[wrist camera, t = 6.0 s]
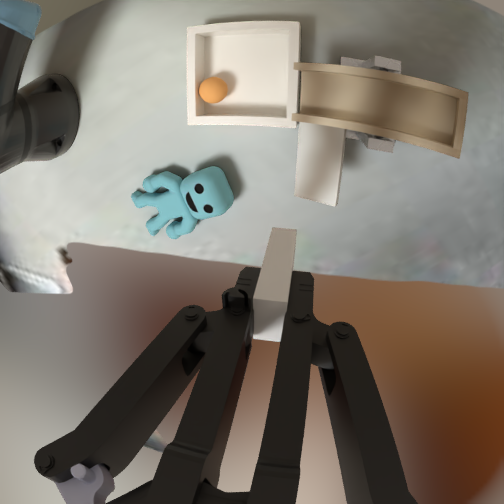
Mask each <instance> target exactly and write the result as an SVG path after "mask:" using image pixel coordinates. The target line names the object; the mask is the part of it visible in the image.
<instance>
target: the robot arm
mask: <svg viewBox="0 0 504 504" xmlns="http://www.w3.org/2000/svg"><path fill="white" fill-rule="evenodd" d="M41 13H42V12H41V7H40V6H39V5H38V4H37V3H34V2H29V1H25V0H0V174H1V173H2V172H4V171H6V170H8V169H10V168H12V167H14V166H15V165H17V164H20V163H22V162H25V161H47V160H51V159H54V158H56V157H58V156H61V155H62V154H64V153H65V152H66V151H67V150H68V149H69V148H70V146H71V145H72V143H73V141H74V138H75V136H76V132H77V128H78V121H79V107H78V101H77V96H76V93H75V91H74V88H73V86H72V85H71V83H70V82H69V81H68V80H67V79H66V78H65V77H64V76H62V75H59V74H51V75H45V76H41V77H39V78H37V79H35V80H33V81H32V82H30V83H28V84H27V85H25V86H24V87H22V88H20V89H19V90H18V86H19V82H20V78H21V75H22V71H23V68H24V64H25V61H26V58H27V55H28V52H29V49H30V46H31V44H32V41H33V40H34V38H35V35H34V34H35V31H36V28H37V25H38V23H39V20H40V17H41ZM296 232H297V230H296V229H285V228H272V231H271V235H270V239H269V242H268V246H267V250H266V253H265V257H264V260H263V264H262V268H254V267H245V268H244V269H243V270H242V271H241V272H240V274H239V277H238V280H237V282H236V285H235V287H234V288H230V289H227V290H226V291H224V292H223V294H222V303H223V309H221V310H218V311H212V312H205V310H204V309H203V308H202V307H200V306H197V305H189V306H186V307H184V308H182V309H181V310H180V311H179V312H178V313H177V314H176V316H175V317H174V318H173V319H172V320H171V321H170V322H169V323H168V324H167V326H166V327H165V328H164V329H163V330H162V331H161V332H160V333H159V335H158V336H157V337H156V338H155V339H154V340H153V341H152V342H151V343H150V344H149V346H148V347H147V348H146V349H145V350H144V351H143V352H142V353H141V355H140V356H139V357H138V358H137V359H136V360H135V361H134V362H133V364H132V365H131V366H130V367H129V368H128V369H127V370H126V372H125V373H124V374H123V375H122V376H121V377H120V378H119V379H118V381H117V382H116V383H115V384H114V385H113V386H112V388H111V389H110V390H109V391H108V392H107V393H106V394H105V396H104V397H103V398H102V399H101V400H100V401H99V402H98V404H97V405H96V406H95V407H94V408H93V409H92V410H91V411H90V413H89V414H88V415H87V416H86V417H85V419H84V420H83V421H82V422H81V423H80V424H79V426H78V427H77V428H76V429H75V430H74V431H72V432H70V433H68V434H67V435H65V436H63V437H61V438H59V439H57V440H56V441H54V442H52V443H50V444H48V445H46V446H44V447H42V448H41V449H40V450H38V451H37V453H36V455H35V459H34V463H35V467H36V469H37V471H38V472H39V473H40V474H41V475H43V476H44V477H46V478H48V479H50V480H52V481H54V482H55V483H56V485H57V487H58V489H59V491H60V493H61V495H62V496H63V498H64V500H65V502H66V504H105V500H106V498H107V496H108V495H109V494H110V493H111V492H113V491H114V489H115V486H114V479H113V478H114V477H116V476H117V475H118V474H119V473H121V472H122V471H123V470H124V469H125V468H126V467H127V466H128V465H129V463H130V462H131V461H132V460H133V459H134V457H135V456H136V455H137V453H138V452H139V450H140V449H141V448H142V447H143V445H144V444H145V443H146V441H147V440H148V439H149V437H150V436H151V435H152V433H153V432H154V431H155V429H156V428H157V427H158V425H159V424H160V423H161V421H162V420H163V419H164V417H165V416H166V415H167V413H168V412H169V411H170V409H171V408H172V406H173V405H174V404H175V402H176V401H177V400H178V398H179V397H180V396H181V394H182V393H183V391H184V390H185V389H186V387H187V386H188V384H189V383H190V382H191V380H192V379H193V377H194V376H195V375H196V373H197V372H198V371H199V369H200V371H199V373H198V376H197V379H196V381H195V384H194V387H193V389H192V392H191V395H190V398H189V400H188V403H187V406H186V408H185V411H184V414H183V417H182V419H181V422H180V425H179V427H178V430H177V433H176V436H175V438H174V440H173V442H171V443H170V444H168V445H167V446H166V448H165V450H164V452H163V454H162V457H161V459H160V462H159V465H158V468H157V470H156V473H155V476H154V478H153V480H151V481H149V482H147V483H145V484H143V485H141V486H139V487H138V488H136V489H134V490H132V491H130V492H128V493H126V494H124V495H122V496H120V497H118V498H116V499H114V500H112V501H110V502H108V503H106V504H295V503H296V497H297V491H298V485H299V479H300V458H301V451H302V444H303V437H304V428H305V419H306V410H307V401H308V390H309V379H310V367H311V364H314V365H316V366H318V368H319V372H320V377H321V381H322V385H323V389H324V394H325V398H326V403H327V407H328V412H329V416H330V420H331V425H332V429H333V434H334V439H335V444H336V448H337V454H338V459H339V464H340V468H341V474H342V479H343V484H344V489H345V495H346V501H347V504H418V503H417V502H416V500H415V499H414V498H413V497H412V495H411V494H410V493H409V491H408V488H407V483H406V480H405V476H404V472H403V468H402V465H401V461H400V458H399V454H398V451H397V447H396V444H395V441H394V437H393V434H392V431H391V428H390V424H389V421H388V418H387V415H386V412H385V409H384V406H383V403H382V400H381V397H380V394H379V391H378V388H377V385H376V383H375V380H374V377H373V374H372V371H371V369H370V366H369V363H368V361H367V358H366V355H365V352H364V350H363V347H362V345H361V342H360V339H359V337H358V334H357V332H356V330H355V328H354V327H353V326H352V325H350V324H348V323H345V322H336V323H333V324H332V325H330V326H329V325H326V324H324V323H321V322H320V321H318V320H317V319H316V318H315V316H314V314H313V291H314V287H313V286H314V278H313V276H312V275H311V273H310V272H300V271H293V267H294V256H295V244H296ZM252 337H253V338H254V339H260V340H268V341H276V342H280V347H279V353H278V359H277V365H276V370H275V377H274V382H273V387H272V393H271V398H270V403H269V409H268V414H267V419H266V424H265V429H264V434H263V438H262V443H261V448H260V453H259V457H258V461H257V464H256V468H255V472H254V477H253V481H252V485H251V490H250V492H231V493H230V492H229V493H228V492H223V491H221V490H219V489H217V485H218V481H219V476H220V467H221V463H222V459H223V455H224V452H225V448H226V444H227V441H228V437H229V433H230V430H231V426H232V422H233V418H234V414H235V410H236V407H237V402H238V399H239V395H240V391H241V387H242V383H243V379H244V376H245V372H246V367H247V363H248V359H249V355H250V351H251V347H252V345H251V341H252Z"/></svg>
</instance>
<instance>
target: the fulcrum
mask: <svg viewBox="0 0 504 504" xmlns="http://www.w3.org/2000/svg"><path fill="white" fill-rule="evenodd" d="M340 65H344V66H353V67H361V68H368V69H374V70H380V71H386V72H392V73H397V74H401V61H399V60H394V59H390V58H386V57H381V56H376V55H375V56H373V57H371V58H370V59H368V60H360V59H354V58H347V57H341V60H340ZM346 138H351V139H358V140H361V142H362V143H363V144H364V145H365V146H366V147H367V148H368V149H374V150H379V151H385V152H390V153H393V147H394V142H395V140H394V139H390V138H386V137H382V136H377V135H373V134H368V133H364V132H359V131H354V130H348V129H347V131H346Z"/></svg>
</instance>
